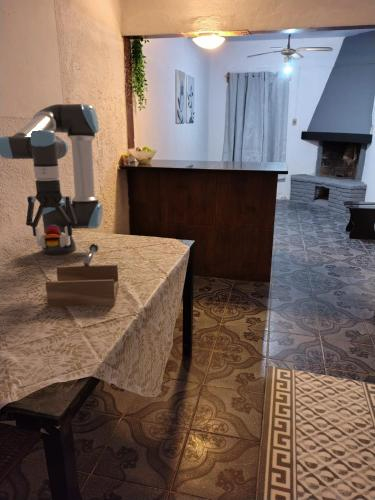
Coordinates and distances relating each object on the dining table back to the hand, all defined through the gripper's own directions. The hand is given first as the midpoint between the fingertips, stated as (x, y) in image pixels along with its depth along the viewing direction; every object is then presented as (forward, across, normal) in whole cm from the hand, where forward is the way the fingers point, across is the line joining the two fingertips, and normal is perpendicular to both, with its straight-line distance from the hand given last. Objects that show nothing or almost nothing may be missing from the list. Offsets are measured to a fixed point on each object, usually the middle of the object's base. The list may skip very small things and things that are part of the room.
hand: (54, 244), depth 131 cm
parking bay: (+16, +11, -8) cm, 21 cm away
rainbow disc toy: (+1, 0, 0) cm, 1 cm away
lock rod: (+8, +11, +8) cm, 15 cm away
